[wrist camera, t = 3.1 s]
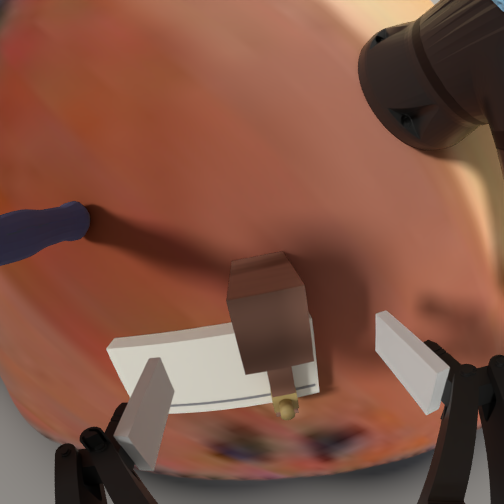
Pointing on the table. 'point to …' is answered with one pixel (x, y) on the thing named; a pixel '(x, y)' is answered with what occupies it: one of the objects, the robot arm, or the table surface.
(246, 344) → the block
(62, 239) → the rubber mallet
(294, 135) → the table surface
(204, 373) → the board
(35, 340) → the table surface
